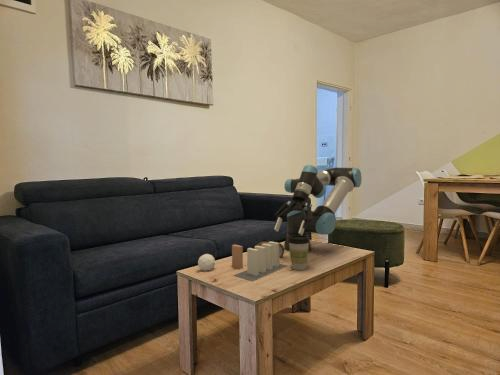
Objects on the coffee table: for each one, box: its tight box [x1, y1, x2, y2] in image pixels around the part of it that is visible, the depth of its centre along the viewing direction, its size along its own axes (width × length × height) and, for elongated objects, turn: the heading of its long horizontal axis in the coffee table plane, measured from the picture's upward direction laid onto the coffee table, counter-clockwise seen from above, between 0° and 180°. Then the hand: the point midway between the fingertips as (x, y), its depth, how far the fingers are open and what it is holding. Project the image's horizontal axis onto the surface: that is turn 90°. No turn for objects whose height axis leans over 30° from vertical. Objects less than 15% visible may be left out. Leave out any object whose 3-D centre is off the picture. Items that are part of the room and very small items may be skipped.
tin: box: [255, 241, 285, 259], centre depth 171 cm, size 15×3×8 cm, turn 84°
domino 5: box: [267, 241, 280, 267], centre depth 157 cm, size 2×5×11 cm, turn 50°
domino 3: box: [253, 245, 266, 273], centre depth 149 cm, size 2×5×11 cm, turn 50°
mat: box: [232, 263, 288, 282], centre depth 150 cm, size 26×11×1 cm, turn 140°
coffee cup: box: [288, 235, 311, 271], centre depth 153 cm, size 10×10×15 cm
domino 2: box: [246, 247, 259, 276], centre depth 145 cm, size 2×5×11 cm, turn 50°
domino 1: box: [231, 244, 244, 270], centre depth 155 cm, size 2×5×11 cm, turn 50°
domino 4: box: [261, 244, 273, 270], centre depth 153 cm, size 2×5×11 cm, turn 50°
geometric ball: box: [197, 253, 216, 272], centre depth 153 cm, size 8×8×8 cm
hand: (287, 232), depth 158 cm, fingers open, 13 cm apart
